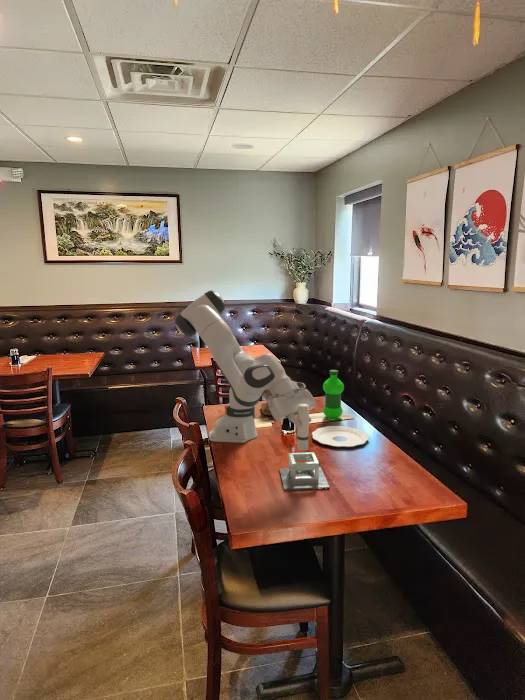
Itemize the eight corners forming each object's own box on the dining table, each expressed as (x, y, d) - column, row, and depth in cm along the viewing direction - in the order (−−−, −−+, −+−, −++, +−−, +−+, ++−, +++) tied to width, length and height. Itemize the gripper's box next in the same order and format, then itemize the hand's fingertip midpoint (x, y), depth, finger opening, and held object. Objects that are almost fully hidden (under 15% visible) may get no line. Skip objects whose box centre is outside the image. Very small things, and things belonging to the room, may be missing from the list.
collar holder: (284, 490, 154) (284, 468, 153) (279, 470, 170) (279, 449, 169) (329, 489, 155) (330, 466, 154) (320, 468, 171) (321, 448, 170)
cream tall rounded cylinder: (297, 450, 158) (298, 407, 155) (296, 446, 162) (296, 403, 159) (309, 450, 158) (310, 407, 156) (307, 445, 162) (308, 403, 160)
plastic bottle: (330, 413, 236) (331, 367, 231) (346, 418, 228) (348, 370, 224) (318, 417, 229) (319, 370, 225) (334, 422, 222) (335, 374, 217)
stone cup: (285, 416, 231) (285, 388, 229) (262, 417, 231) (262, 389, 228) (282, 407, 246) (282, 381, 244) (260, 408, 246) (260, 382, 243)
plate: (333, 454, 184) (334, 450, 184) (301, 435, 206) (301, 431, 206) (380, 443, 196) (380, 439, 195) (344, 426, 218) (344, 422, 217)
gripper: (268, 392, 154) (289, 426, 149) (306, 382, 168) (326, 413, 163) (260, 402, 158) (279, 435, 153) (297, 391, 172) (317, 421, 167)
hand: (304, 423), depth 158 cm, fingers closed on cream tall rounded cylinder, 4 cm apart
